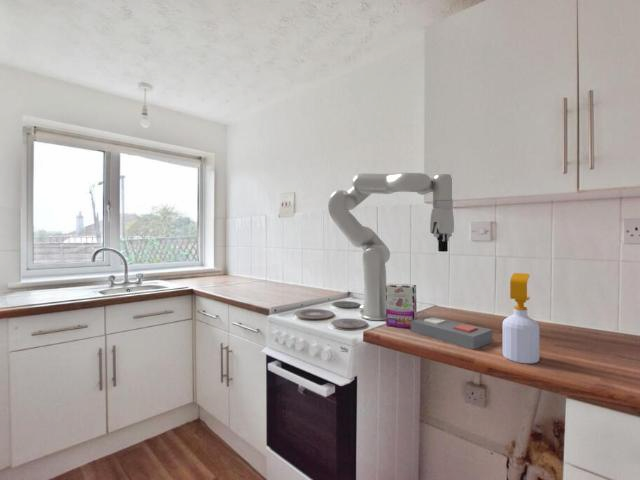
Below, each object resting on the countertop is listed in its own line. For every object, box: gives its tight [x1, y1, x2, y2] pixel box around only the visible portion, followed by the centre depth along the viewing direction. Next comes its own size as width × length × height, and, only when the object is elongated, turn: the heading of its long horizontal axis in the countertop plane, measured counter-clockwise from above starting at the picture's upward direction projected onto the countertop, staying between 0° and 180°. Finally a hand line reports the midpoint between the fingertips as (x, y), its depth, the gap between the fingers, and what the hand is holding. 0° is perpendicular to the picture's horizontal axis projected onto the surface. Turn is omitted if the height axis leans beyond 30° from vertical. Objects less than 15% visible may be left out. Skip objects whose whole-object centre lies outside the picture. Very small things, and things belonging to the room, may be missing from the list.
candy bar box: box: [385, 283, 418, 330], centre depth 129 cm, size 11×5×16 cm, turn 62°
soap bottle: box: [502, 272, 540, 365], centre depth 95 cm, size 9×9×25 cm
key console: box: [410, 315, 493, 350], centre depth 116 cm, size 24×12×4 cm, turn 36°
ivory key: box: [424, 318, 445, 325], centre depth 121 cm, size 5×5×2 cm
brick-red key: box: [454, 324, 478, 333], centre depth 111 cm, size 5×5×2 cm
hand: (442, 251), depth 132 cm, fingers closed
